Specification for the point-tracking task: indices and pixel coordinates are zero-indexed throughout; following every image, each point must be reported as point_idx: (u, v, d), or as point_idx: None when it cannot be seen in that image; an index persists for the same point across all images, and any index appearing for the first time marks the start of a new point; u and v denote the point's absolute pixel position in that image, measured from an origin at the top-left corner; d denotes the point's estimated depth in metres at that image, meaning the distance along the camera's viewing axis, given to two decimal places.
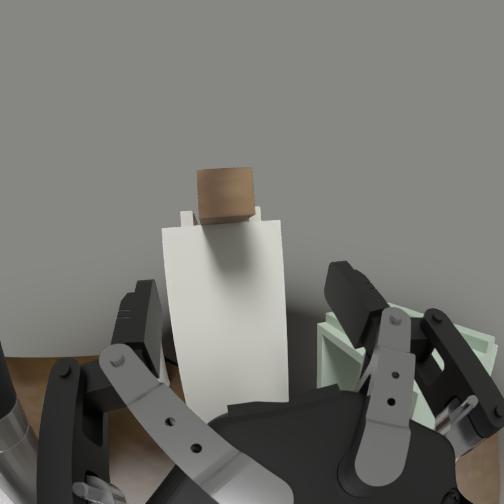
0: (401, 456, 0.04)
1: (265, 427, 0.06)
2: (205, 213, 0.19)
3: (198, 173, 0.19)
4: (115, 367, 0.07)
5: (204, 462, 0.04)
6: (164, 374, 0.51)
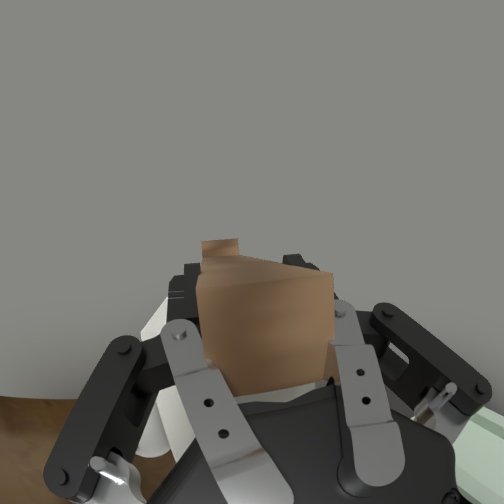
0: (401, 456, 0.04)
1: (265, 427, 0.06)
2: None
3: (200, 297, 0.07)
4: (179, 340, 0.08)
5: (225, 448, 0.05)
6: (165, 436, 0.39)
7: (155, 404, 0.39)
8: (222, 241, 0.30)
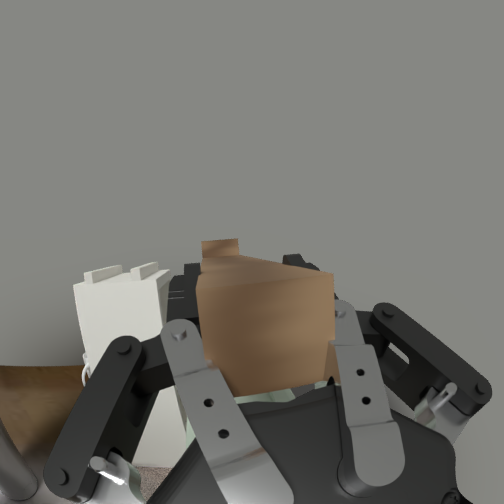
0: (401, 456, 0.04)
1: (265, 427, 0.06)
2: None
3: (200, 298, 0.07)
4: (179, 340, 0.08)
5: (225, 449, 0.05)
6: None
7: None
8: (222, 241, 0.30)
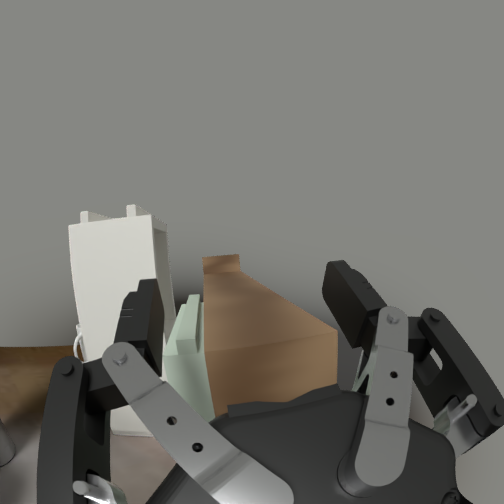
0: (401, 456, 0.04)
1: (265, 427, 0.06)
2: None
3: (209, 359, 0.07)
4: (118, 365, 0.07)
5: (204, 461, 0.04)
6: None
7: None
8: (223, 257, 0.30)
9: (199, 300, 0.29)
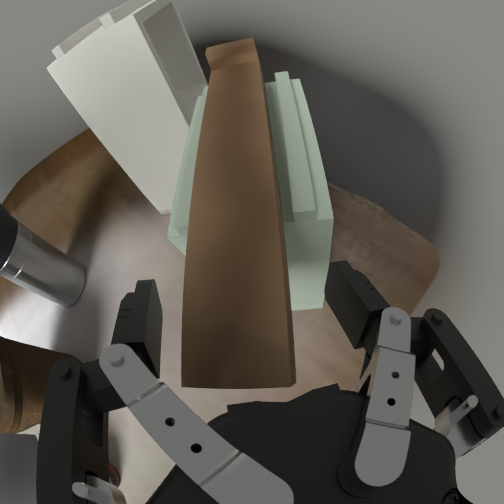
0: (401, 456, 0.04)
1: (265, 427, 0.06)
2: None
3: None
4: (115, 367, 0.07)
5: (204, 462, 0.04)
6: None
7: None
8: (233, 48, 0.17)
9: None
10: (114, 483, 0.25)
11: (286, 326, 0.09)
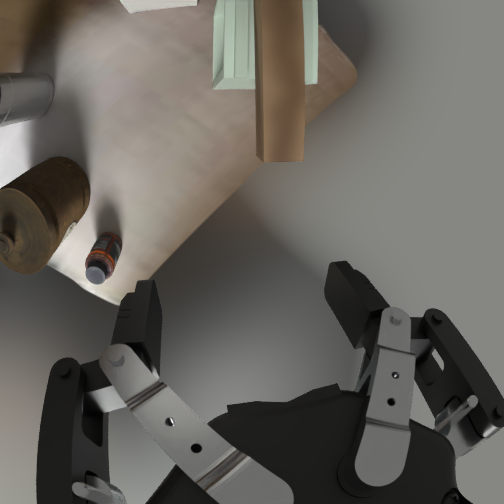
0: (401, 456, 0.04)
1: (265, 427, 0.06)
2: None
3: (264, 161, 0.25)
4: (115, 367, 0.07)
5: (204, 462, 0.04)
6: None
7: None
8: None
9: None
10: (120, 247, 0.50)
11: (303, 140, 0.24)
